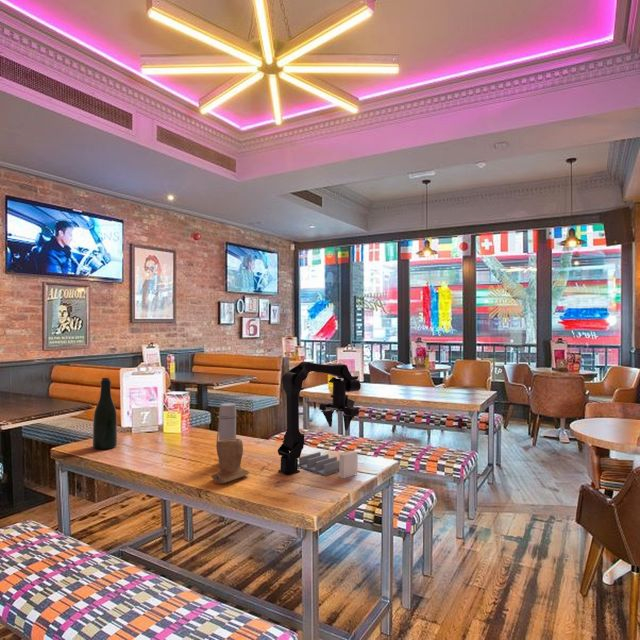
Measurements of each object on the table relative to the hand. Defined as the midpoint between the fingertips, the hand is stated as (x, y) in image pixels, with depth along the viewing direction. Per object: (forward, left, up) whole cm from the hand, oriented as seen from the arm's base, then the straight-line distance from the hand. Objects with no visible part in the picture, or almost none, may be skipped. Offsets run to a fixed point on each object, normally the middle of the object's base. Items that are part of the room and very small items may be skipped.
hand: (338, 428), depth 203 cm
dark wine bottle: (-65, +90, -14) cm, 112 cm away
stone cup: (-48, +13, -14) cm, 52 cm away
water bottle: (-38, +30, -14) cm, 50 cm away
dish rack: (-12, -2, -14) cm, 18 cm away
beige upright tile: (-12, -16, -14) cm, 24 cm away
